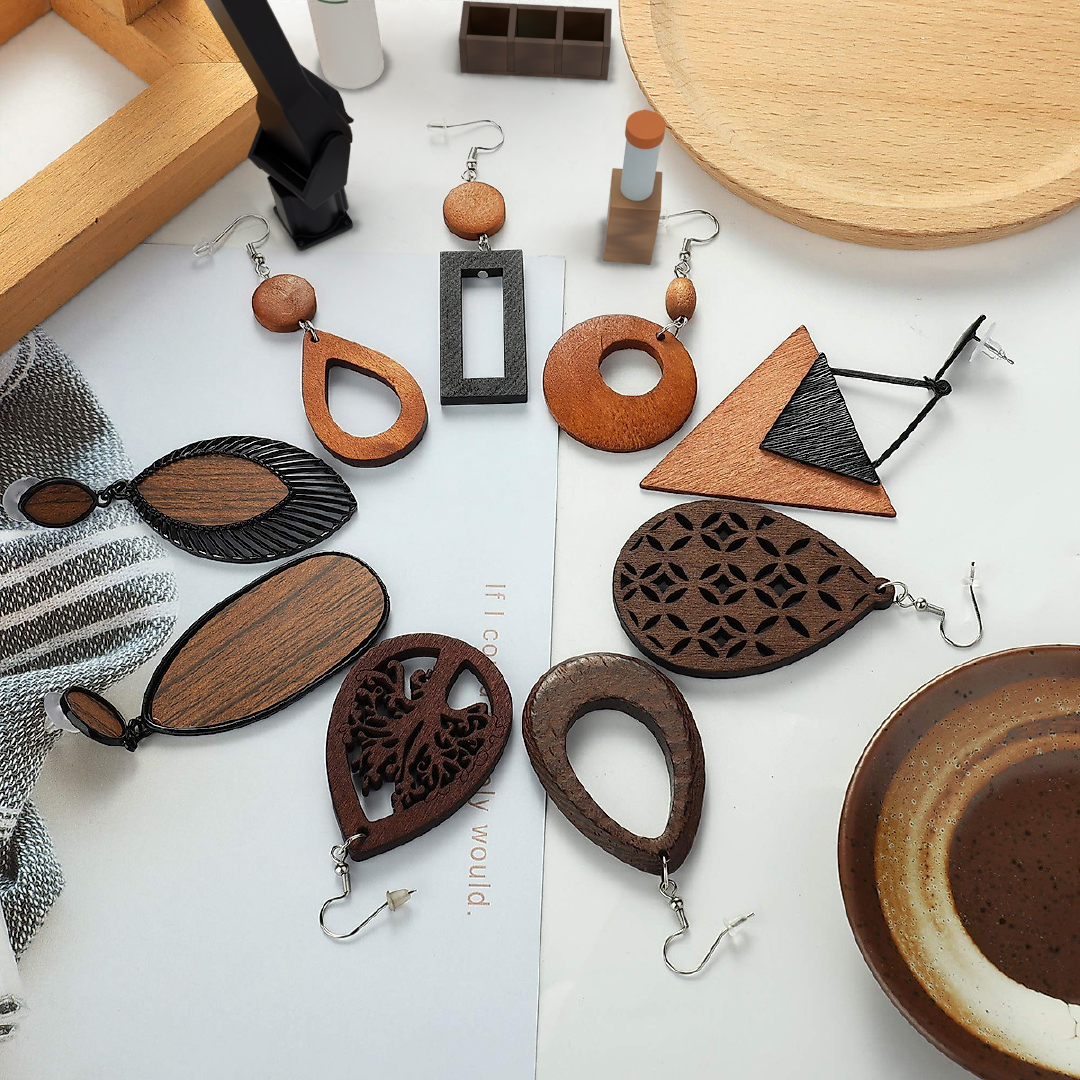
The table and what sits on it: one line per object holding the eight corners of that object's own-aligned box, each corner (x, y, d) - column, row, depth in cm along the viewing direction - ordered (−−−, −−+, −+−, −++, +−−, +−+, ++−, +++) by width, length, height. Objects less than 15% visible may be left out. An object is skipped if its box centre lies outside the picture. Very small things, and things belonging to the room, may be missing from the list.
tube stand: (603, 261, 102) (609, 206, 95) (606, 223, 104) (612, 167, 97) (651, 264, 102) (660, 210, 95) (652, 227, 104) (662, 171, 97)
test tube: (631, 208, 95) (640, 144, 87) (611, 183, 96) (618, 119, 89) (661, 193, 96) (673, 129, 88) (641, 169, 97) (651, 104, 89)
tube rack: (460, 72, 113) (458, 38, 109) (465, 35, 115) (463, 0, 111) (607, 80, 113) (610, 46, 108) (608, 42, 115) (611, 8, 111)
